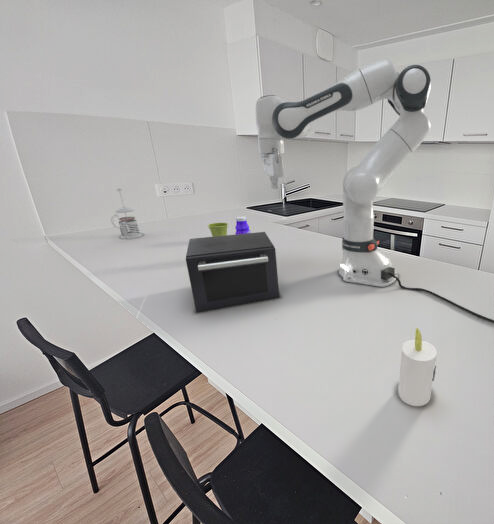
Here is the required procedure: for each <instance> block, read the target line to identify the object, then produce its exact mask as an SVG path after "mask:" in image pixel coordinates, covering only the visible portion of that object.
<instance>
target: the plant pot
mask: <svg viewBox="0 0 494 524" xmlns="http://www.w3.org/2000/svg"><path fill="white" fill-rule="evenodd" d="M228 226H229V223H227V222H213V223H208V225H207V227H208V228H209V230H210V234H211V237H215V236H225V235H228Z"/></svg>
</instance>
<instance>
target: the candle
mask: <svg viewBox="0 0 494 524" xmlns="http://www.w3.org/2000/svg"><path fill="white" fill-rule="evenodd" d="M437 352H438V351H437V349H436V347H435V346H434V345H433V344H432V343H430V342H428V341H426V340H423V338H422V332H421V331H420V329H419V328H418V327H416V328H415V334H414V339H409V340H406V341H405V342H403V344H402V346H401V355H400V364H399V365H400V366H399V377H398V388H397V394H398V396H399V398H400V400H401V401H402V402H404V403H405V404H407V405H409V406H412V407H422V406H425V405H427V404H428V403H429V402H430V400H431V396H432V391H433V390H432V388H433V384H434V383H433V382H434V381H435V378H436V377H435V376H436V369H437V365H436V362H437V361H436V360H437V355H438V353H437Z"/></svg>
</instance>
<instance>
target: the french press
mask: <svg viewBox="0 0 494 524" xmlns="http://www.w3.org/2000/svg"><path fill="white" fill-rule="evenodd" d="M116 191H117V192H119V195H120V199H121V202H122V206H123V207H120V208H117V209H116V210H115V211H114V212H115V214H113V215H112V217H111V218H110V219H111V220H110V222H111V224H112V226H113V227H114V228H117V229H119V231H120V234H121V236H120V238H121V239H124V240H125V239H128V240H129V239H135V238H140V237H142V236H143V234H142V233H141V232H140V228H139V225H138V221H137V219H136V217H135V216H127V213H133V212H134V211H135V209H134V208H131V207H126V206H124V201H123V198H122V194H121V191H122V188H119V187H118V188H116ZM117 213H118V214H122V213H123V214H125V216H123V217H120V216H119V215H118V214H117ZM115 217H117V218H118V220H119V221H118V225H119V227H118V226H116V225H115V221H114V220H115Z"/></svg>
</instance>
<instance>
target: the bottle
mask: <svg viewBox="0 0 494 524" xmlns="http://www.w3.org/2000/svg"><path fill="white" fill-rule="evenodd" d="M235 222H236V224H235V233H234V235H236V234H246V233H252V232H251V230H250V225H249V224H248V221H247V217H246V216H244V215H243V216H242V215H241V216H236V217H235Z"/></svg>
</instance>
